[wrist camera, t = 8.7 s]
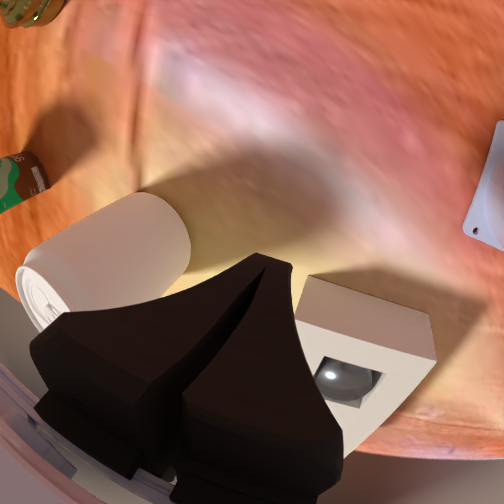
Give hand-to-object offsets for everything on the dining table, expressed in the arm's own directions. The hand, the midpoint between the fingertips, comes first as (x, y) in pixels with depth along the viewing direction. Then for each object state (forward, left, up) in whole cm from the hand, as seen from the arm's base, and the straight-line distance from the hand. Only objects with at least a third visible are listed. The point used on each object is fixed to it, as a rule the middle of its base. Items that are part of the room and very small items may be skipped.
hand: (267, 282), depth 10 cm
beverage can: (+12, +7, -11) cm, 17 cm away
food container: (+32, +4, -11) cm, 34 cm away
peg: (-6, +10, -10) cm, 16 cm away
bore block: (-6, +15, -10) cm, 19 cm away
